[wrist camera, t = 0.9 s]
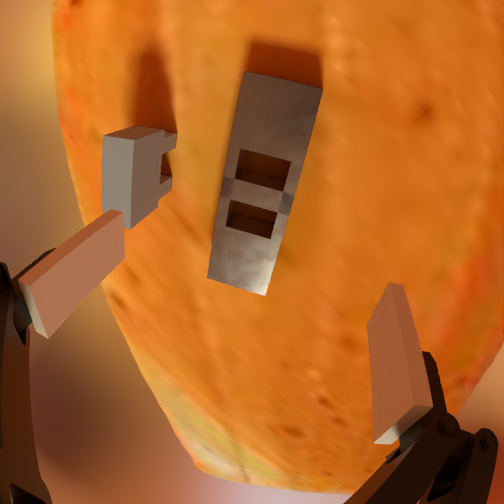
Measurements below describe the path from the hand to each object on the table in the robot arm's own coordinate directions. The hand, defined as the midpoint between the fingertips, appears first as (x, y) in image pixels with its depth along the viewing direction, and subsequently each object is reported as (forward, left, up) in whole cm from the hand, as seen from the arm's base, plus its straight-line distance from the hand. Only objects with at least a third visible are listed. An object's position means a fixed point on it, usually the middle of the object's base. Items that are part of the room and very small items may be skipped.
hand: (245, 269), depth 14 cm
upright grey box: (+4, -17, -24) cm, 29 cm away
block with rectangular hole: (+4, -3, -24) cm, 24 cm away
